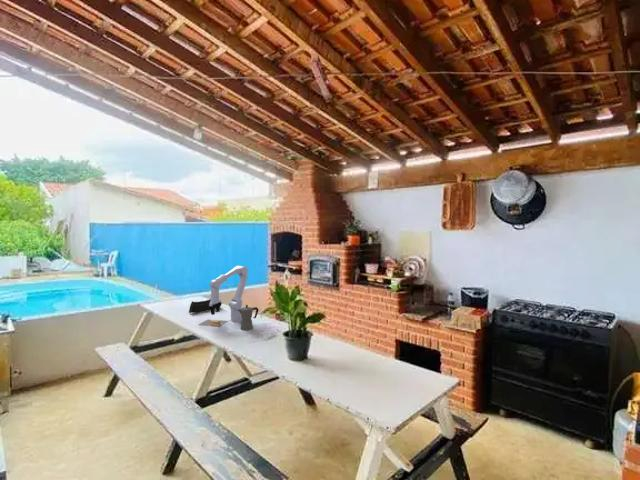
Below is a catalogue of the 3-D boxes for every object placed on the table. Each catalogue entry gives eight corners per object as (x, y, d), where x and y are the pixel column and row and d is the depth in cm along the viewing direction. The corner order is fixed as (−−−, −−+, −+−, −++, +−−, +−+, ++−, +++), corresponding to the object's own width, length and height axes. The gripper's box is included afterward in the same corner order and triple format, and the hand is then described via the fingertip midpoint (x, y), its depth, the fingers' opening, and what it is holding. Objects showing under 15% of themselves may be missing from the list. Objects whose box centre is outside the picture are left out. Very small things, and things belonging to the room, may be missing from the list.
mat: (228, 321, 288) (228, 320, 288) (219, 327, 272) (219, 326, 272) (207, 319, 291) (207, 319, 291) (197, 325, 276) (197, 325, 276)
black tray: (187, 304, 305) (217, 289, 326) (185, 303, 307) (215, 289, 328) (193, 322, 310) (222, 306, 331) (191, 321, 312) (220, 305, 333)
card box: (212, 323, 280) (212, 319, 280) (220, 324, 279) (220, 320, 279) (209, 325, 276) (209, 321, 276) (218, 325, 275) (218, 321, 275)
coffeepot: (238, 331, 264) (238, 306, 263) (236, 327, 272) (236, 303, 271) (259, 329, 269) (259, 305, 268) (257, 325, 278) (257, 302, 277)
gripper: (214, 293, 284) (215, 310, 285) (205, 297, 270) (205, 315, 271) (223, 293, 283) (223, 311, 284) (214, 298, 269) (214, 316, 269)
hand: (215, 313), depth 277 cm, fingers open, 7 cm apart
